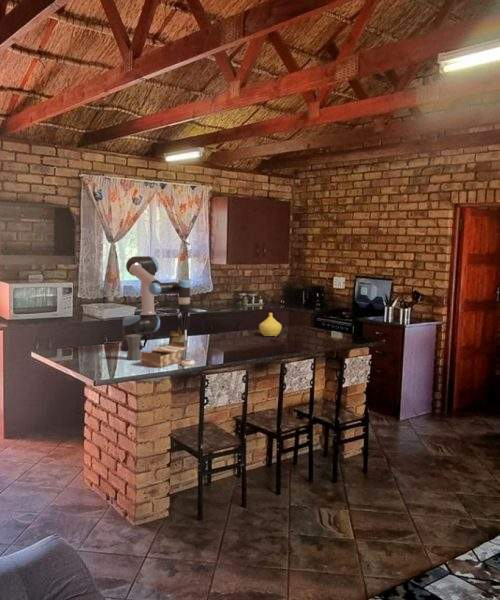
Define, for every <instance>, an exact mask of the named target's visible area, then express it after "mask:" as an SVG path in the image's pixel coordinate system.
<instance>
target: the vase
mask: <svg viewBox="0 0 500 600" xmlns="http://www.w3.org/2000/svg"><path fill="white" fill-rule="evenodd" d="M258 327H259V331H260V333H261V334H262V336H264V337H266V336H275V337H277V336H278V335H280V333H281V331H282V324H281V323H280V322H278V321H277V320H276V319H275V318H274V317H273V312H268V317H267V318H266V319H265V320H264V321H262V322H261V323H260V324H259V325H258Z"/></svg>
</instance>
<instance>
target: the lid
mask: <svg viewBox="0 0 500 600" xmlns="http://www.w3.org/2000/svg"><path fill="white" fill-rule="evenodd" d="M189 348H190V347H189V346H186V342H184V341H180V342H177V341H172V345H164V346H161V347H157V348H152V350H151V351H159V352H167V353H173V352H177V351H180V352H181V351H184V350H187V349H189Z"/></svg>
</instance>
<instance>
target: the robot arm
mask: <svg viewBox="0 0 500 600" xmlns="http://www.w3.org/2000/svg"><path fill="white" fill-rule="evenodd" d="M159 267H160V266H159V262H158V260H157V259H156V258H155V257H154V256H149V255H147V256H143V255H142V256H139V255H138V256H137V255H136V256H132V257H130V258H128V259H127V261H126V264H125V268H126V271H127V272H128V273H129V274H130V275H131V276H133V277H134V276H135V278H137V279H138V280H139V281H140V287H141V291H140V292H141V312H140V314H139V315H137V314H136V315H135V314H134V315H133V314H132V315H128V316H125V317H123V319H122V340H121V343H120V346H119V347H120V349H119V350H120V351H123V352H128V349H129V346H128V343H127V341H126V339H125V338H124V336H126V335H131V334H133V331H135V334H137V335H142V334H153V333H156V332H158V331H159V329H160V327H161V318H160V317H159V316H158V314H157V312H156V311H155V296H158V295H172V294H173V295H178V296H177V297H178V302H177V303H178V305H177V307H178V308H177V309H178V310H179V314H177V315H176V316H177V317H176V318H177V319H178V321H177V322H178V326H179V328H180V330H181V332H182V335H181V340H182V341H187V340H188V339H187V338H188V335H187V334H188V333H187V332H188V330H189V328H190V322H191V317H192V313H191V312H190V309H191V281H190V280H188V279H179V280H178V282H176V281H170V282H161V281H159V280H158V279H157V278H156V277H155V276H156V273H158V271H159ZM141 346H143V343H142V341H140V346H139V349H140V351H142V350H143V348H142V347H141Z"/></svg>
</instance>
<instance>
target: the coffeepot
mask: <svg viewBox="0 0 500 600" xmlns="http://www.w3.org/2000/svg"><path fill="white" fill-rule="evenodd" d="M124 338H125V339H126V341H127V343H128V346H129V349H128V351H127V353H126V360H127V361H132V360H134V361H141V350H140V349H139V346H140V341H141V340H142V339H144V342H143V343H142V346H141V347H142V348H144V349H145V348H146V346H147V345H146V344H147V342H148V339H149V338H148V336H147V335H146V334H143V335H142V334H140V335H137V334H135V331H133V334H131V335H126V336H124ZM141 342H142V341H141Z"/></svg>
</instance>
